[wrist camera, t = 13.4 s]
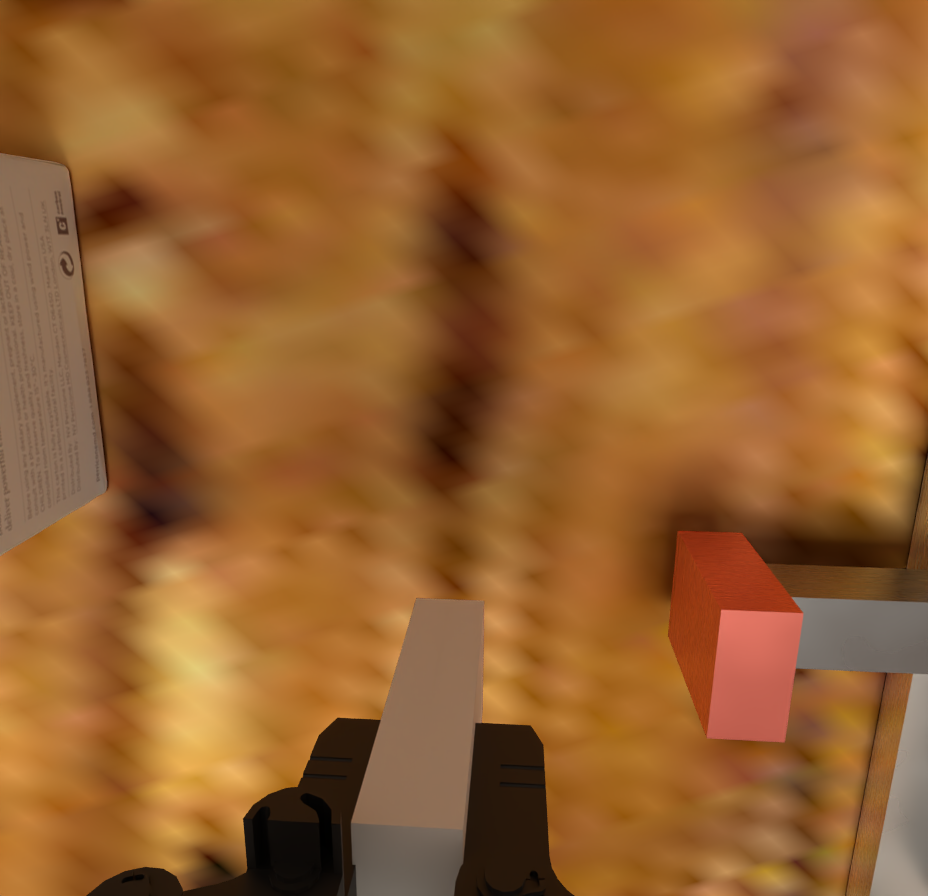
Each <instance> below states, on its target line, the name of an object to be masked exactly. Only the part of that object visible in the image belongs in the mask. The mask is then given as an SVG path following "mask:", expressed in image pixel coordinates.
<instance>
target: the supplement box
mask: <svg viewBox="0 0 928 896" xmlns="http://www.w3.org/2000/svg"><path fill="white" fill-rule="evenodd" d="M106 490H107V478H106V469H105V461H104V452H103V444H102V435H101V427H100V418H99V410H98V402H97V393H96V385H95V377H94V369H93V361H92V353H91V345H90V338H89V330H88V323H87V315H86V306H85V297H84V288H83V279H82V270H81V262H80V254H79V247H78V239H77V231H76V223H75V215H74V206H73V198H72V190H71V183H70V177H69V171H68V169H67V168H66V166H65V165H63V164H60V163H58V162H53V161H46V160H40V159H34V158H27V157H21V156H16V155H10V154H4V153H0V556H1V555H2V554H4V553H6V552H7V551H9V550H11V549H12V548H14V547H15V546H17V545H19V544H21V543H22V542H24V541H26V540H27V539H29V538H31V537H32V536H34V535H36V534H37V533H39V532H40V531H42V530H44V529H45V528H47V527H48V526H50V525H52V524H53V523H55V522H57V521H58V520H60V519H62V518H63V517H65V516H67V515H68V514H70V513H72V512H73V511H75V510H77V509H78V508H80V507H82V506H84V505H85V504H87V503H88V502H90V501H91V500H93V499H94V498H96V497H97V496H99V495H101V494H103V493H104V492H105V491H106Z"/></svg>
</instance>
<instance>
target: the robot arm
mask: <svg viewBox="0 0 928 896" xmlns="http://www.w3.org/2000/svg"><path fill="white" fill-rule="evenodd" d="M483 654H484V601H476V600H450V599H425V598H416V601H415V605H414V608H413V612H412V615H411V618H410V622H409V625H408V629H407V632H406V636H405V639H404V642H403V646H402V649H401V653H400V656H399V660H398V663H397V666H396V670H395V673H394V677H393V680H392V684H391V687H390V690H389V694H388V697H387V701H386V704H385V708H384V711H383V714H382V718H381V720H371V719H351V718H337V719H336V720H335V721H334V722H333V723H331V724H330V725H329V726H328V727H327V728H326V729H325V730H324V731H323V732H322V733H321V734H320V735H319V736H318V739H317V741H316V744H315V746H314V749H313V751H312V753H311V756H310V760H309V761H308V763H307V766H306V768H305V770H304V773H303V778H301V780H300V783H299V785H298V787H291V788H285V789H282V790H279V791H277V792H274V793H271V794H268V795H267V796H266V797H264V798H263V799H261V800H260V801H258V802H257V803H255V804H254V805H253V806H252V807H251V809H250V810H249V811H248V813H247V814H246V815H245V817H244V818H243V822H244V834H245V846H246V857H247V871H246V873H244V874H242V875H240V876H238V877H236V878H234V879H232V880H229V881H226V882H222V883H219V884H216V885H211V886H206V887H201V888H197V889H192V890H187V891H183V889H182V887H181V885H180V883H179V881H178V879H177V877H176V876H175V875H173V874H171V873H170V872H168V871H166V870H164V869H160V868H150V867H143V868H138V869H133V870H128V871H124V872H122V873H120V874H118V875H116V876H114V877H112V878H110V879H108V880H106V881H104V882H103V883H101V884H100V885H99V886H98V887H97V888H95V889H94V890H93V891H92V892H90V893H89V894H88V895H87V896H574V895H573V894H571V893H570V892H569V891H567V890H566V888H565V887H564V886H563V885H562V884H561V883H560V881H559V880H558V879H557V877H556V875H555V873H554V871H553V869H552V867H551V862H550V857H549V841H548V822H547V804H546V789H545V771H544V749H543V744H542V742H541V741H540V739H539V738H538V736H537V734H536V733H535V731H534V730H533V728H532V727H531V726H530V725H510V724H490V723H482V711H483Z"/></svg>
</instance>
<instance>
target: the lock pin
mask: <svg viewBox="0 0 928 896" xmlns="http://www.w3.org/2000/svg"><path fill="white" fill-rule="evenodd" d="M668 637H669V639H670V642H671V645H672V647H673V650H674V653H675V655H676V658H677V661H678V663H679V666H680V669H681V671H682V674H683V676H684V679H685V682H686V684H687V687H688V690H689V692H690V695H691V698H692V700H693V703H694V706H695V708H696V711H697V713H698V716H699V719H700V721H701V724H702V727H703V729H704V732H705V735H706V737H707V738H714V739H733V740H752V741H770V742H785V737H786V730H787V723H788V716H789V710H790V703H791V696H792V689H793V682H794V676H795V669H796V668H801V669H823V670H844V671H866V672H887V673H909V674H928V570H926V569H899V568H872V567H845V566H817V565H790V564H765V562H764V561H763V560H762V558H761V557H760V556H759V555H758V553H757V552H756V551H755V549H754V548H753V547H752V546H751V544H750V543H749V542H748V540H747V539H746V538H745V536H744V535H743V534H742V533H731V532H702V531H678V532H677V543H676V554H675V565H674V576H673V587H672V598H671V609H670V620H669V630H668Z"/></svg>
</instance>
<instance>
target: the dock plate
mask: <svg viewBox="0 0 928 896" xmlns="http://www.w3.org/2000/svg"><path fill="white" fill-rule="evenodd" d="M906 569H926V570H928V454H927V460H926V465H925V471H924V476H923V481H922V487H921V492H920V498H919V503H918V508H917V514H916V519H915V525H914V530H913V535H912V541H911V546H910V552H909V557H908V562H907V568H906ZM846 896H928V674H909V673H887V676H886V681H885V686H884V692H883V697H882V703H881V708H880V713H879V719H878V724H877V730H876V735H875V740H874V746H873V751H872V757H871V762H870V767H869V773H868V778H867V784H866V789H865V794H864V800H863V805H862V811H861V816H860V821H859V827H858V832H857V838H856V843H855V848H854V854H853V859H852V864H851V870H850V875H849V881H848V886H847V891H846Z"/></svg>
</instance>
